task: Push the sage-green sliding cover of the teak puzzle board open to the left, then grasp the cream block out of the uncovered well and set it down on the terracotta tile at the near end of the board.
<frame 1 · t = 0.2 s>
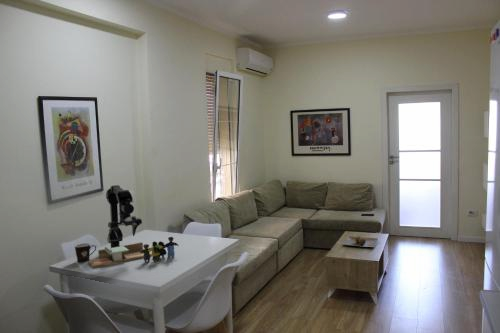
hand: (126, 237, 249), 15 cm above the table, fingers open, 9 cm apart
sage cover: (116, 248, 250), point 8 cm above the table, slide at 0.0 cm
cream block: (117, 260, 250), resting on puzzle board
puzzle board: (117, 261, 251), on the table
doll family: (160, 260, 249), on the table
coffee mug: (86, 261, 253), on the table
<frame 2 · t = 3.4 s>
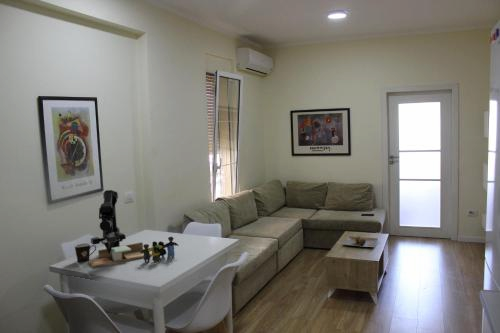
hand: (109, 253, 244), 7 cm above the table, fingers closed
sage cover: (119, 248, 251), point 8 cm above the table, slide at 1.6 cm, touching gripper
everything else where it was.
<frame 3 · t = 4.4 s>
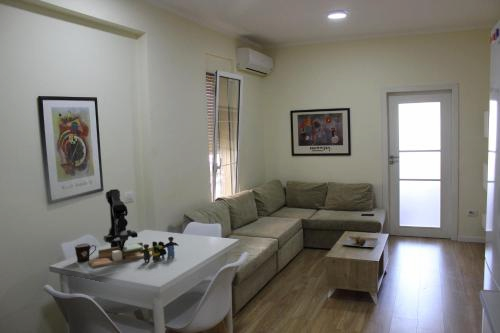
hand: (121, 250, 248), 7 cm above the table, fingers closed
sage cover: (131, 246, 255), point 8 cm above the table, slide at 8.8 cm, touching gripper
everything else where it was.
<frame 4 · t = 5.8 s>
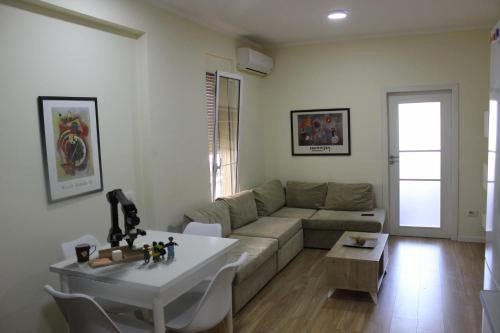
hand: (130, 248, 251), 7 cm above the table, fingers closed
sage cover: (139, 244, 258), point 8 cm above the table, slide at 14.3 cm, touching gripper
everything else where it was.
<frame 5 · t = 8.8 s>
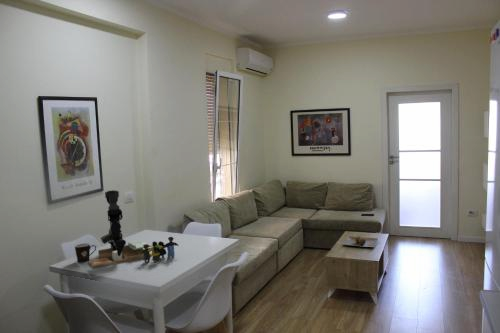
hand: (117, 254, 250), 4 cm above the table, fingers open, 8 cm apart
sage cover: (139, 244, 258), point 8 cm above the table, slide at 14.3 cm
everything else where it was.
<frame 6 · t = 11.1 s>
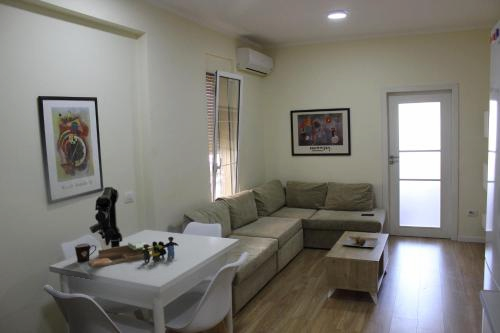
hand: (106, 244, 246), 11 cm above the table, fingers closed on cream block, 4 cm apart
cream block: (106, 248, 246), point 9 cm above the table, touching gripper
everything else where it was.
when the fingers open (5 cm above the table, at t = 12.7 s): cream block stays where it is, resting on puzzle board.
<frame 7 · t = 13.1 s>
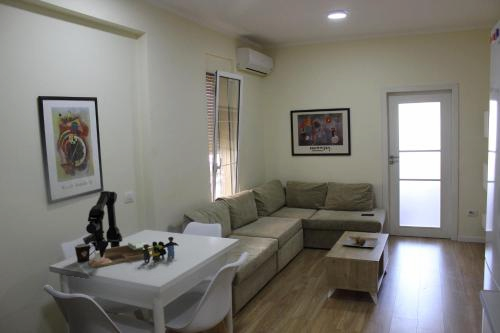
hand: (99, 255, 245), 5 cm above the table, fingers open, 8 cm apart
cream block: (100, 260, 245), point 2 cm above the table, touching puzzle board
everything else where it was.
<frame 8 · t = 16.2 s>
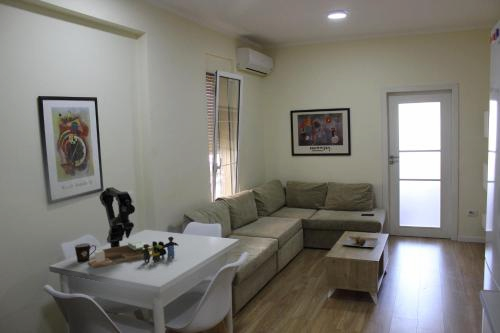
hand: (125, 236, 261), 12 cm above the table, fingers open, 9 cm apart
nothing on the table moved.
at the end: sage cover slide at 14.3 cm; cream block inside the target area on the puzzle board (0.0 cm from its centre), point 2.3 cm above the puzzle board's base; cream block tilted 0° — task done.
